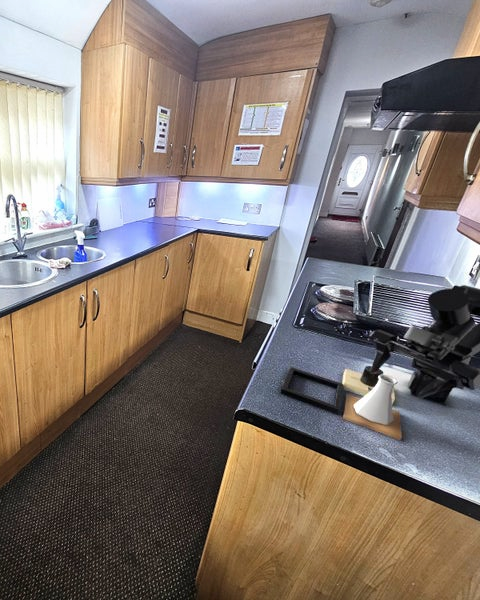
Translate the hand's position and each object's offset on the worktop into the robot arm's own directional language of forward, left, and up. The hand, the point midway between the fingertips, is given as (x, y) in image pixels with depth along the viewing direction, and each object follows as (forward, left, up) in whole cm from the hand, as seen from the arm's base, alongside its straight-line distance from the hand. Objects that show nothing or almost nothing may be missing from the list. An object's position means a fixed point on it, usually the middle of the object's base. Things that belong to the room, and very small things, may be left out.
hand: (393, 384), depth 74 cm
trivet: (+2, +3, -8) cm, 9 cm away
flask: (+2, +3, -8) cm, 8 cm away
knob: (+3, -9, -6) cm, 11 cm away
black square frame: (+14, +1, -8) cm, 16 cm away
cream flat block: (+3, -9, -8) cm, 12 cm away
